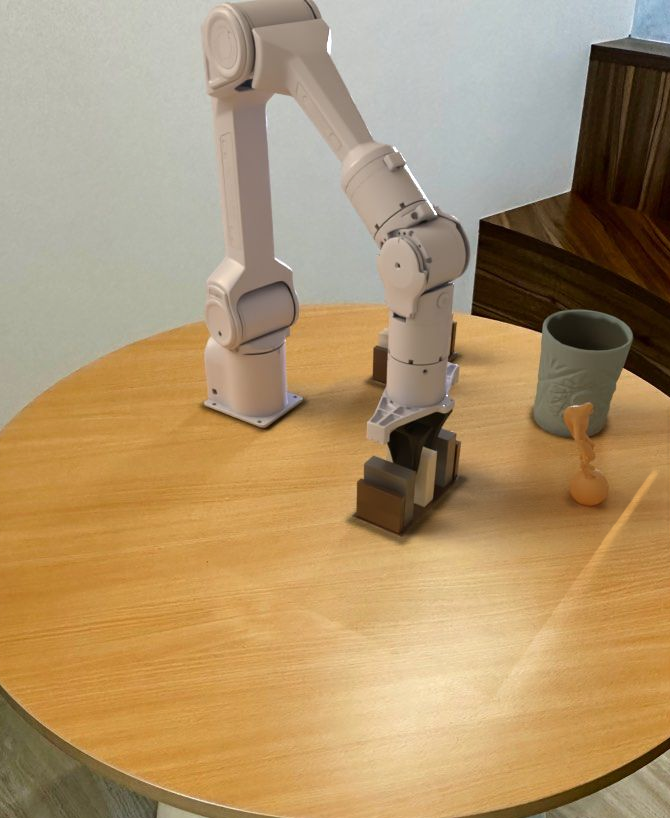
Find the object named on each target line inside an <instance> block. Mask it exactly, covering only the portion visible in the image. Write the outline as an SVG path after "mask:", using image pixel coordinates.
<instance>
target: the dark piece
mask: <svg viewBox="0 0 670 818" xmlns="http://www.w3.org/2000/svg"><path fill="white" fill-rule="evenodd" d="M457 325H458V322H457V321H455V320H454V313H453V312H452V316H451V328H450V340H449V352H448V362H450V363H452V361H453V360H455V359H456V358H457V357H458V352H456V351H455V347H456V339H457V338H456V337H457V336H456V335H457ZM388 334H389V327H385V328H384V329H382V330H381V331H380V332H378V344H377V345H375V346H374V347H373V348H372V349H373V350H372V376H370V377H369V378H368V379H369V380H371V381H374V382H376V383H381V384H383V385H386V386H387V360H388Z"/></svg>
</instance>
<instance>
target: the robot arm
mask: <svg viewBox="0 0 670 818" xmlns="http://www.w3.org/2000/svg"><path fill="white" fill-rule="evenodd" d="M199 28H200V38H201V46H202V56H203V57H202V58H203V67H204V78H205V88H206V94H207V95H208V96H210V102H211V113H212V123H213V124H212V125H213V134H214V146H215V156H216V167H217V178H218V187H219V188H218V189H219V199H220V209H221V222H222V230H223V231H222V232H223V241H224V252H225V253H224V254H225V256H224V257H223V259H222V261H220V263H219V264H218V265H217V267H216V268H215V269H214V270H213V271H212V273H210V275H209V276H208V277H207V279H206V280H205V285H206V299H205V303H204V309H203V316H204V317H203V318H204V321H205V322H204V323H205V325H206V328H207V330H208V332H209V334H210V336H209V338H208V339H207V342H206V345H205V348H204V354H203V359H204V370H205V378H206V389H207V399H205V401H203V405H204V407H207V408H210V409H212V410H215V411H218V412H220V413H221V414H224V415H228V416H231V417H232V418H236V419H238V420H240V421H242V422H245V423H248V424H250V425H253V426H256V427H258V428H262V429H265V428H267V427H268V426H270V425H271V424H273V423H274V422H275V421H277V420H279V419H280V418H281V417H283V416H284V415H285V414H287V413H288V412H289V411H291V410H292V409H294V408H295V407H297V406H298V405H299V404H300V403H302V402H303V397H302V396H301V395H299V394H298V395H297V394H295V393H292V392H289V391H288V378H287V375H288V373H287V352H286V339H287V338H290V337H291V327H293V326H295V325H296V324H297V322H298V320H299V316H300V299H299V296H298V293H297V291H296V288H295V284H294V276H293V275H294V274H293V269H292V268H290V267H289V266H288V264H286V263H285V262H284V261H282V260H281V259H279V258H277V257H276V256H275V254H276V253H275V238H274V223H273V222H274V221H273V205H272V188H271V171H270V170H271V169H270V156H269V155H270V153H269V137H268V120H267V103H268V102H269V101H270V100H271V98H272V97H273V96H274V95H275V94H277V95H282V96H288V97H292V98H293V99H294V100H295V102H296V103H297V104H298V106H299V107H300V108H301V110H302V111H303V112H304V114H305V115H306V117H307V118H308V119H309V121H310V122H311V124H312V125H313V126H314V127H315V129H316V131H318V133H319V134H320V135H321V137H322V138H323V140H324V141H325V143H326V144H327V145H328V146H329V148H330V149H331V150H332V152H333V153H334V155H335V156H336V157H337V159H338V160H339V161H340V162H341V164H342V169H341V175H340V188H341V189H342V191H343V192H344V194H345V196H346V197H347V199H348V200H349V202H350V203H351V205H352V207H353V209H354V210H355V212H356V213H357V215H358V216H359V218H360V219H361V222H362V223H363V224H364V226H365V227H366V229H367V231H368V232H369V234H370V236H371V237H372V239H373V240H374V242H375V243H376V245H377V247H378V248H379V250H380V252H379V253H377V254H376V255H375V263H376V268H377V273H378V275H379V277H380V280H381V282H382V284H383V289H384V303H386V308H387V309H388V310H389V311H388V328H389V334H388V360H387V385H386V386H385V388H384V390H383V392H382V394H381V398H380V399H379V402H378V404H377V407H376V409H375V411H374V413H373V415H372V417H370V418H369V419H368V420H367V421H366V440H369V441H371V442H374V443H377V444H379V445H382V446H385V445H386V444H387V445H388V447H389V450H390V454H391V457H392V461H393V463H395V464H397V465H400V466H403V467H405V468H408V469H411V470H413V471H416V474H417V472H418V468H419V463H420V457H421V452H422V449H423V447H425V448H428V449H431V450H433V448H434V445H435V442H436V439H437V437H438V435H439V432H440V430H441V428H443V426H444V425H445V423H446V421H447V420H448V419H449V417H450V416H451V414H452V413H453V412H454V411H453V410H454V408H455V406H456V400H455V399H454V398H452V397H450V396H449V394H450V392H451V388H452V387H453V386H455V385H457V384H458V383H459V378H460V365H459V364H457V363H452V362H448V352H449V340H450V328H451V316H452V313H453V305H454V290H455V280H457V279H459V278H460V277H462V275H464V274H465V273H466V271H467V269H468V268H469V266H470V261H471V243H470V241H469V237H468V234H467V232H466V231H465V229H464V226H463V224H462V222H461V221H460V220H459V219H458V218H456V216H454V215H452V214H450V213H447V212H444V211H442V210H441V209H440V207H439V206H438V205H435V204H431V202H430V201H429V199H428V198H427V196H426V195H425V193H424V191H423V190H422V188H421V187H420V185H419V183H418V182H417V180H416V179H415V177H414V176H413V174H412V172H411V171H410V169H409V167H408V166H407V162H406V159H405V158H404V157H403V155H402V153H401V152H400V151H398V150H397V149H396V146H394V145H391V144H387V143H382V142H378V141H376V140H375V139H374V136H373V134H372V133H371V131H370V129H369V127H368V125H367V123H366V121H365V120H364V117H363V115H362V114H361V112H360V109H359V108H358V106H357V104H356V102H355V100H354V98H353V97H352V95H351V93H350V91H349V88H348V87H347V85H346V83H345V81H344V79H343V78H342V77H343V76H342V75H341V73H340V72H339V69H338V68H337V66H336V64H335V63H334V60H333V58H332V57H331V50H332V33H331V28H330V26H329V25H328V24H327V22H326V21H325V19H323V16H322V13H321V11H320V9H319V8H318V6H317V4H316V2H315V1H314V0H248V1H239V2H230V1H223V2H218V3H217V4H215V5H214V6H213V7H212V8H211V9H210V11H209V12H208V14H207V16H206V17H205V18H204V20H203V22H202V23H201V24H200V27H199Z"/></svg>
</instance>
